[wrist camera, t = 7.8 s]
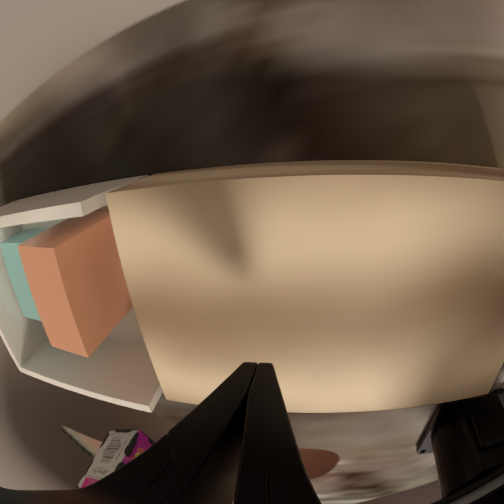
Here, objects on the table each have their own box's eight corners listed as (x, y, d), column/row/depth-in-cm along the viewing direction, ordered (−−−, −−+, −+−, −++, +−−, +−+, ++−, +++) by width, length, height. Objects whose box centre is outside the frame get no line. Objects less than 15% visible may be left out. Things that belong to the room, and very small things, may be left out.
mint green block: (24, 316, 15) (45, 298, 18) (76, 329, 15) (98, 307, 17) (-1, 243, 14) (25, 229, 16) (49, 243, 13) (77, 227, 15)
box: (185, 349, 17) (151, 412, 13) (59, 330, 19) (19, 371, 15) (148, 174, 14) (80, 202, 9) (17, 199, 16) (-40, 225, 11)
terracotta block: (88, 357, 11) (51, 346, 12) (138, 299, 16) (104, 294, 16) (53, 248, 9) (17, 245, 10) (123, 208, 14) (86, 209, 14)
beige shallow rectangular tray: (464, 345, 14) (488, 393, 11) (191, 350, 17) (166, 399, 14) (498, 167, 10) (550, 186, 7) (155, 173, 14) (105, 193, 10)
